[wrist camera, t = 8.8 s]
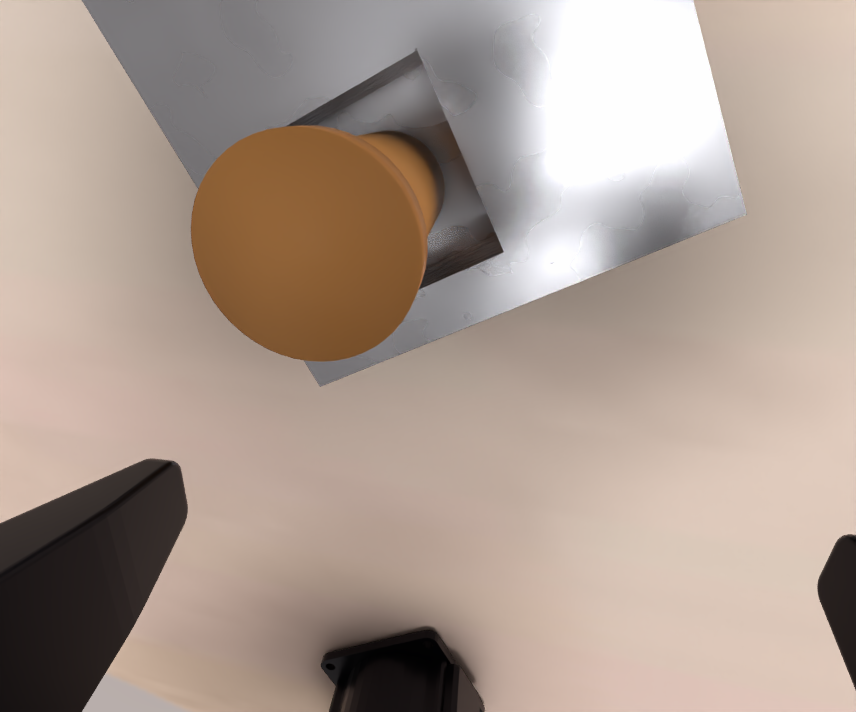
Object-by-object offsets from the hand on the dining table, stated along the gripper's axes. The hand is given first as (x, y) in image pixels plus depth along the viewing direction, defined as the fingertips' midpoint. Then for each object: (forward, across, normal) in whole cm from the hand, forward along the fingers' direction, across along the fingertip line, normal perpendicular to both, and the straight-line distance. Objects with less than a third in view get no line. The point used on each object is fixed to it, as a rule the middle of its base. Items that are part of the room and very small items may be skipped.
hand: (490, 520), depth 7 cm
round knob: (+10, +3, -3) cm, 11 cm away
